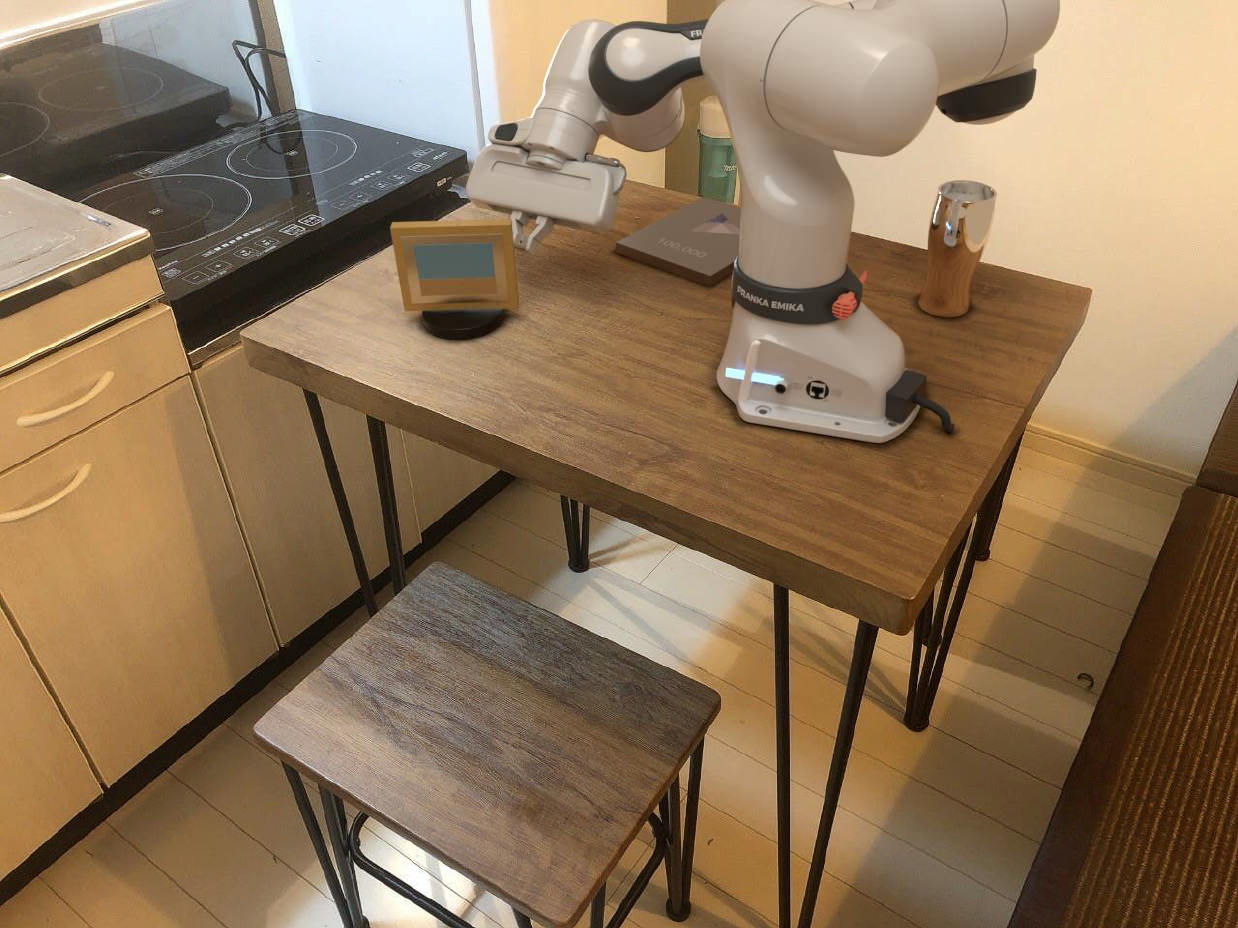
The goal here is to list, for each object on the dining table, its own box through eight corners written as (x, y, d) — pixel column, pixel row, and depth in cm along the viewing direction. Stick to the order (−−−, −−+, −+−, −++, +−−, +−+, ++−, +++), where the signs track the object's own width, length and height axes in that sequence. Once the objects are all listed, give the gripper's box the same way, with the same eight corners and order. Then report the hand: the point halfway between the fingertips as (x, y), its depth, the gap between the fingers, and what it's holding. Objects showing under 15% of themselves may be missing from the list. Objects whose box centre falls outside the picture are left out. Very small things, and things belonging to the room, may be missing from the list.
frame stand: (519, 310, 122) (518, 300, 121) (473, 347, 115) (472, 336, 114) (455, 293, 126) (453, 283, 125) (407, 328, 119) (405, 317, 118)
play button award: (615, 242, 134) (702, 197, 146) (616, 252, 135) (702, 206, 146) (710, 276, 125) (794, 225, 137) (709, 286, 126) (793, 235, 138)
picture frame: (519, 302, 120) (511, 218, 114) (518, 309, 119) (510, 225, 112) (406, 305, 120) (392, 222, 113) (404, 312, 119) (389, 228, 112)
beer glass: (981, 303, 121) (1008, 188, 112) (957, 325, 117) (983, 208, 108) (929, 287, 125) (952, 174, 116) (904, 308, 121) (925, 193, 112)
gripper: (639, 173, 120) (603, 277, 119) (503, 147, 128) (468, 245, 127) (622, 149, 114) (583, 258, 114) (480, 124, 122) (443, 226, 122)
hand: (521, 251), depth 121 cm, fingers closed
